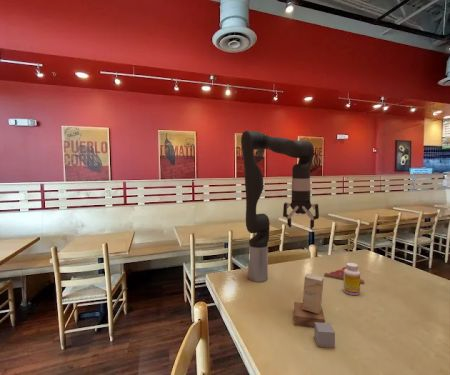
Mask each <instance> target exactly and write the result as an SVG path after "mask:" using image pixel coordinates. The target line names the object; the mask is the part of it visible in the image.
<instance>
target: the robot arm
mask: <svg viewBox="0 0 450 375" xmlns="http://www.w3.org/2000/svg"><path fill="white" fill-rule="evenodd" d="M240 146H241V151H242V158H243V168H244V187H245V227H246V230H247V232H248V233H249V234H255V235H254V236H253V237H251V238H250V239H249V242H248V243H249V244H248V245H249V247H248V248H249V249H248V250H249V252H248V253H249V255H248V256H249V260H248V261H247V263H248V265H247V267H248V268H247V273H248V274H247V276H248V278H247V279H248V280H251V281H253V282H256V283H257V282H258V283H259V282H260V283H262V282H263V283H264V282H266V281H268V277H269V276H268V274H269V273H268V270H269V269H268V268H269V267H268V262H269V261H268V258H269V257H268V252H269V250H268V244H269V240H270V218H269V216H268V215H267V214H266V213H257V205H258V202H259V199H260V197H261V196H262V194H263V192H264V191H263V190H264V174H263V172H262V170H261V168H260V167H259V165H258V163H257V161H256V159H255V154H254V150H255V151H256V150H270V151H271V152H273V153H277V154H281V155H286V156H288V157H289V158H292V159H293V158H294V159H298V162H297V163H296V164H294V165H292V173H291V174H292V176H291V177H292V179H291V200H290V202H286V201H285V202H283V210H282V217H284V218H286V219H287V221H286V222H287V226H288V228H292V216H293V215H294V214H298V215H299V214H301V215H305V214H306V215H307V216H308V217H309V219H310V222H309V224H310V225H309V226H310V227H309V229H310V230H313V229H314V227H315V220H318V219H319V218H320V210H319V209H320V208H319V204H318V203H311V189H312V188H311V186H312V185H311V166H312V163H313V159H314V155H315V147H314V145H313V143H312V142H310V141H308V140H307V141H306V140H297V139H296V140H295V139H290V138H285V137H279V136H269V135H267V134H265V133H263V132H260V131H258V130H257V131H256V130H244V131H243V132H242V134H241V139H240ZM289 207H290V208H291V209H292V210H291V211H290V213H289V214H288V209H289ZM311 208H312V209H313V210H314V211H315V215H314V214H313V213H312V211H310V209H311Z"/></svg>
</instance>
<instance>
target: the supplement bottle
mask: <svg viewBox="0 0 450 375" xmlns="http://www.w3.org/2000/svg"><path fill="white" fill-rule="evenodd" d="M345 267H347V268H346V269H345V270H344V280H343V292H344V293H346V294H347V295H351V296H358V295H360V293H361V284H360V280H361V272H360V270H359V265H358V264H357V263H355V262H347V263H346V266H345Z"/></svg>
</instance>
